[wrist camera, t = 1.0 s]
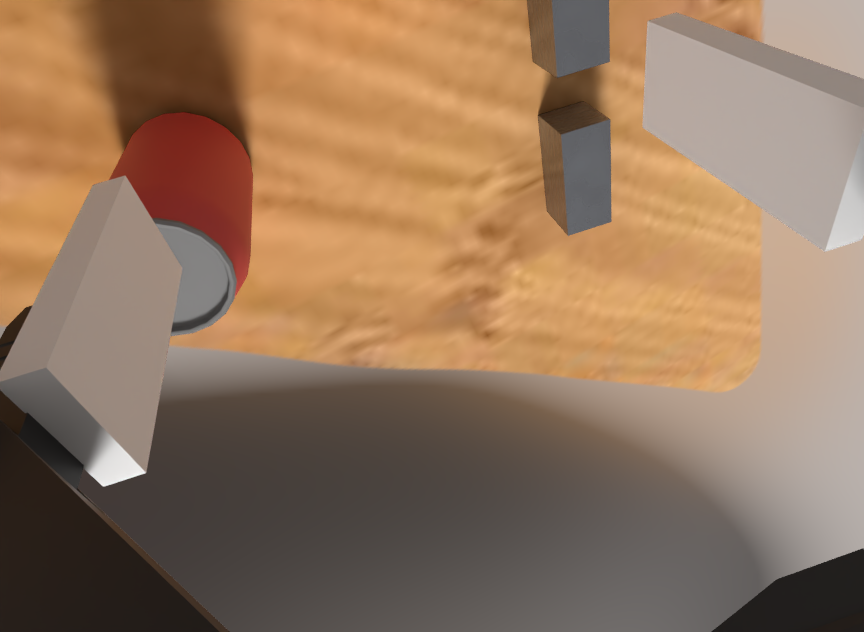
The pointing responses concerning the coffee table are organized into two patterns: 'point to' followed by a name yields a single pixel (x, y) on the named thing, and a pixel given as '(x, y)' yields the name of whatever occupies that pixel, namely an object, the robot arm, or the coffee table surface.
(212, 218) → the beer can
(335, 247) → the coffee table surface
